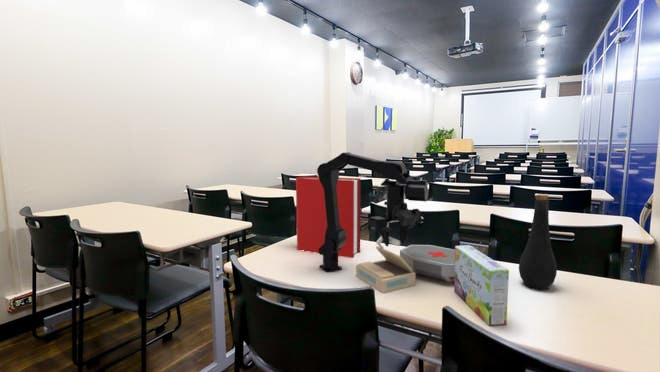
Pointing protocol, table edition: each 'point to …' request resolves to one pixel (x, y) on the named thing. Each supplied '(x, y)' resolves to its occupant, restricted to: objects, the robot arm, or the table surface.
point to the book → (314, 214)
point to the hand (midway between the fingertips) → (394, 244)
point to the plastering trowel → (392, 254)
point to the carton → (385, 275)
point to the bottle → (539, 250)
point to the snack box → (482, 284)
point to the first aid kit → (431, 261)
